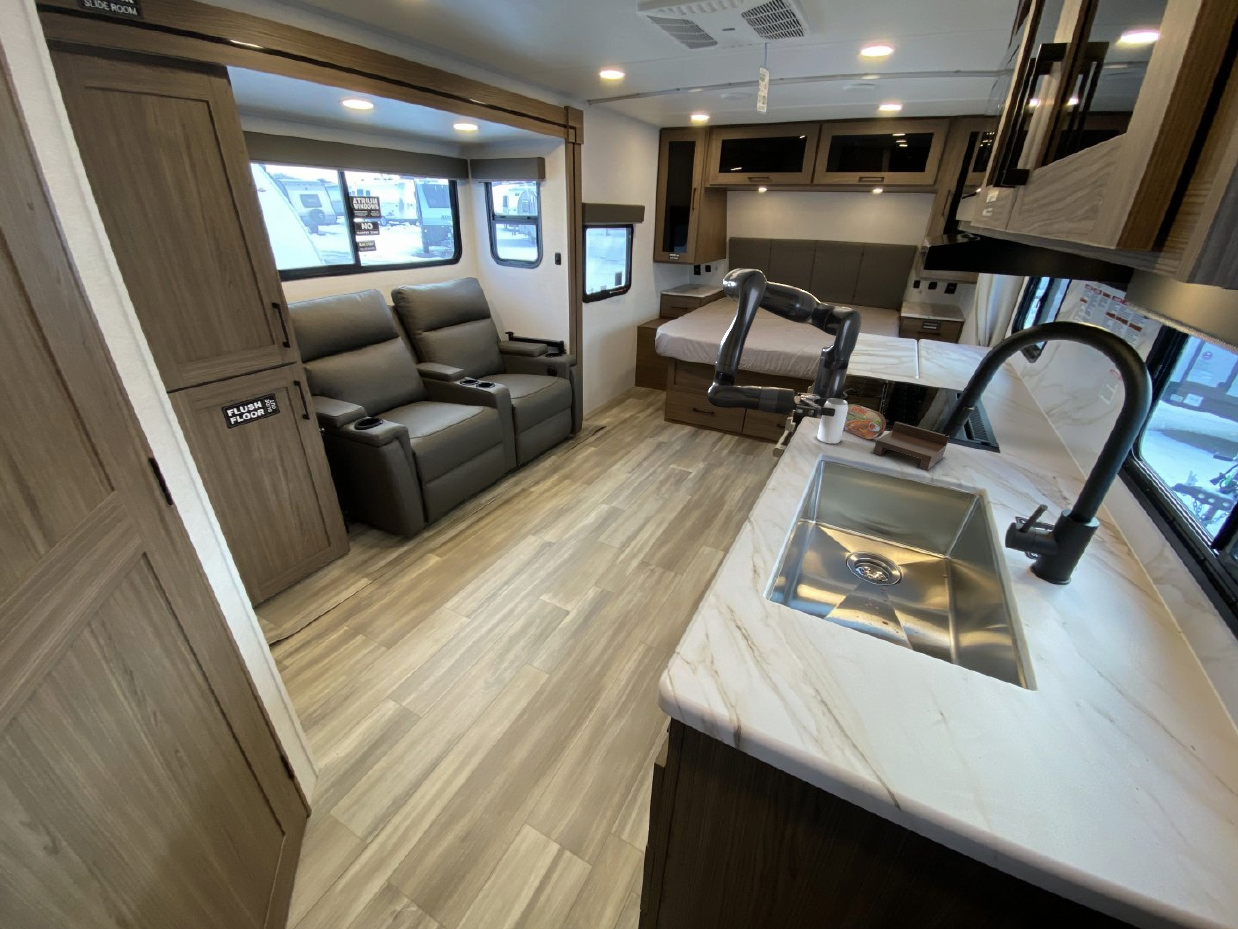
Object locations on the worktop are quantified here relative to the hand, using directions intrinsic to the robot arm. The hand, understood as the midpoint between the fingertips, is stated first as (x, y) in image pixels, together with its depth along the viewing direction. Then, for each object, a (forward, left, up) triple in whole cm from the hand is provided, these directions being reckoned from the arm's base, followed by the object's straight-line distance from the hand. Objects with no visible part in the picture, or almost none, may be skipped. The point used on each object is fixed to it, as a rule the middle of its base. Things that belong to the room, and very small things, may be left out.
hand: (834, 407), depth 141 cm
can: (0, 0, -10) cm, 10 cm away
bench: (-7, +20, -10) cm, 23 cm away
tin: (-12, +4, -10) cm, 16 cm away
